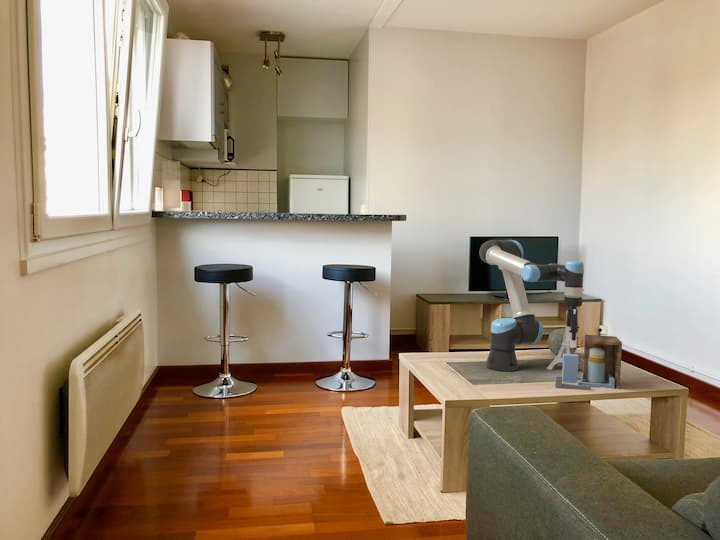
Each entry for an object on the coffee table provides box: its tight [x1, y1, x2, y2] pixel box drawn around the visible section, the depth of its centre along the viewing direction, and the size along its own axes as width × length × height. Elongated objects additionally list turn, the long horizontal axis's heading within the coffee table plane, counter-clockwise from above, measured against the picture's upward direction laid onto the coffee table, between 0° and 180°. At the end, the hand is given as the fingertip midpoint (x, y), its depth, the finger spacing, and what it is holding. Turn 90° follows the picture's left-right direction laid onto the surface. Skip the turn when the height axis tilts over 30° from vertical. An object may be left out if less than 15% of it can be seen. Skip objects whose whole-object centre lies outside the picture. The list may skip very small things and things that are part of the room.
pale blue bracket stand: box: [561, 353, 615, 389], centre depth 258 cm, size 20×10×12 cm, turn 77°
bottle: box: [586, 348, 605, 384], centre depth 259 cm, size 7×7×15 cm
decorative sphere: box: [546, 327, 579, 356], centre depth 308 cm, size 15×15×15 cm
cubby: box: [582, 334, 623, 390], centre depth 258 cm, size 13×13×20 cm
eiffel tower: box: [545, 310, 583, 371], centre depth 282 cm, size 13×13×30 cm
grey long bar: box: [554, 374, 592, 391], centre depth 251 cm, size 14×2×5 cm, turn 77°
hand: (571, 344), depth 260 cm, fingers open, 13 cm apart
